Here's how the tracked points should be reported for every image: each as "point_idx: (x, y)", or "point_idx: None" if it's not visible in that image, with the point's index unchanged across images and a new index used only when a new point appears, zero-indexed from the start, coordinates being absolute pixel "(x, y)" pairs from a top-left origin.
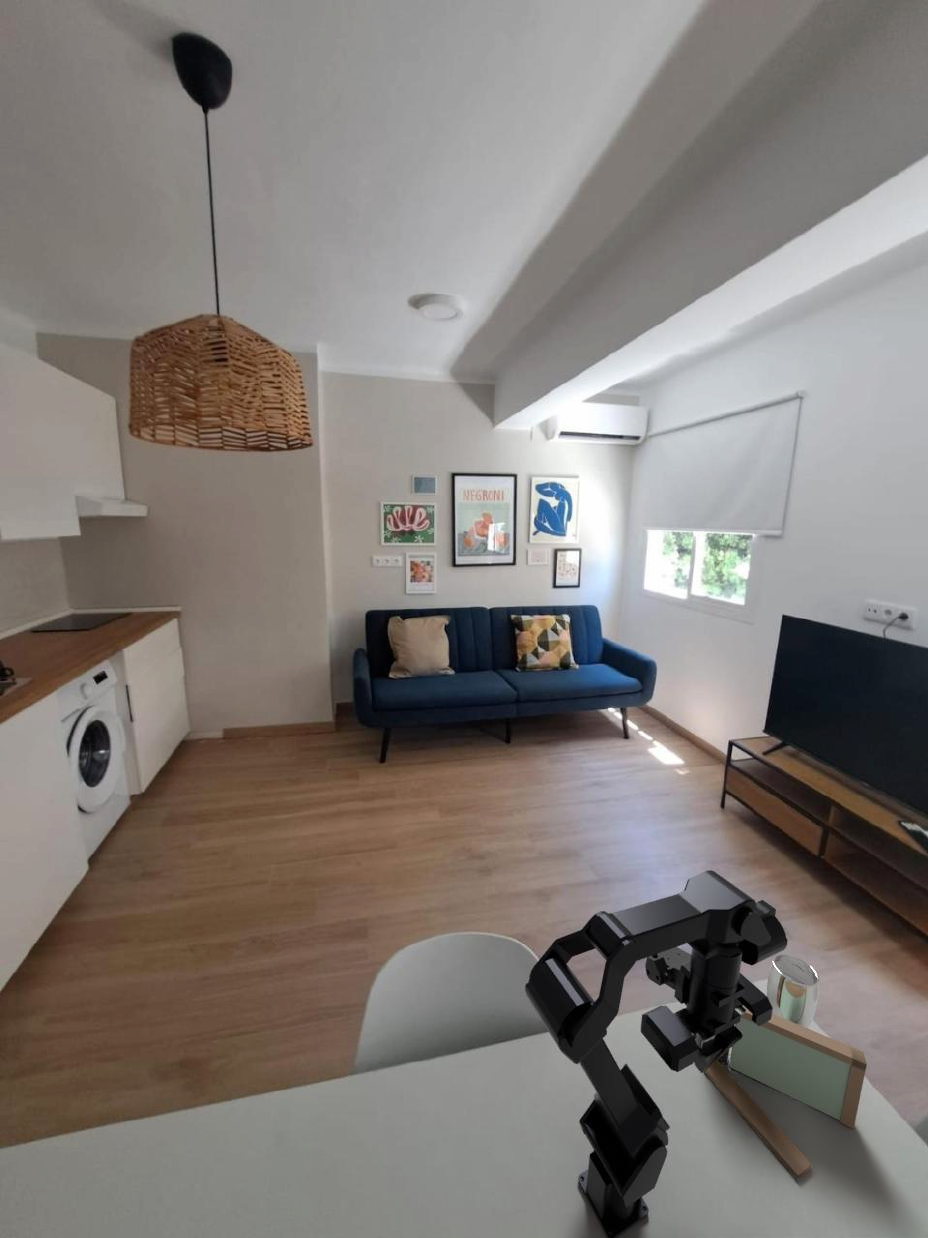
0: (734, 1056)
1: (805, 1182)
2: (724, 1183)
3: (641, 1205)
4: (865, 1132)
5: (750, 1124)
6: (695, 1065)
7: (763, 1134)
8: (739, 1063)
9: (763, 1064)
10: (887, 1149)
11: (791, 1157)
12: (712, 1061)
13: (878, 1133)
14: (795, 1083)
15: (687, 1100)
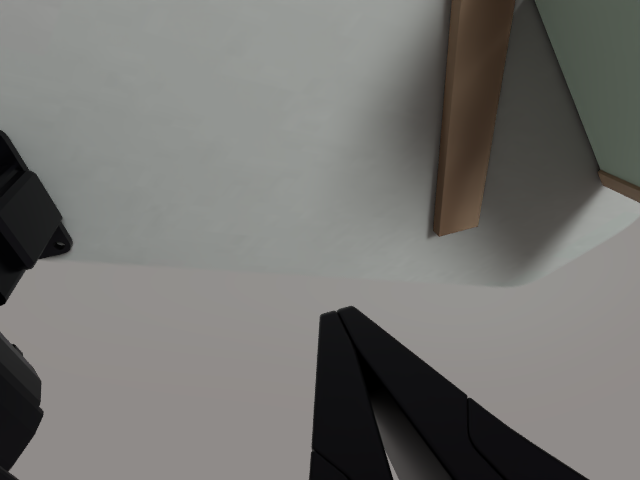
0: (572, 2)
1: None
2: (294, 217)
3: (52, 239)
4: None
5: (442, 139)
6: (320, 319)
7: (446, 171)
8: (563, 16)
9: (610, 70)
10: (606, 213)
11: (456, 213)
12: (390, 457)
13: None
14: (616, 125)
15: (337, 40)
